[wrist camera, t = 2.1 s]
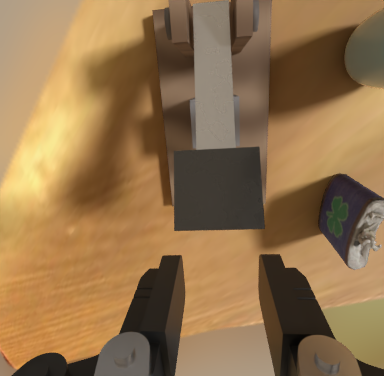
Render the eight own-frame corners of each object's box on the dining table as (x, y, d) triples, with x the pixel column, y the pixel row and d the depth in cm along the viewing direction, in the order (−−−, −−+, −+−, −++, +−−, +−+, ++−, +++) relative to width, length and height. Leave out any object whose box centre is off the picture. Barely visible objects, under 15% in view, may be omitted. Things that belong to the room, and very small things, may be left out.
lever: (176, 20, 24) (172, 2, 22) (247, 13, 24) (249, -7, 22) (178, 230, 21) (174, 230, 19) (260, 229, 21) (264, 228, 19)
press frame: (155, 13, 31) (119, -31, 19) (269, 2, 30) (304, -53, 18) (174, 202, 39) (157, 250, 28) (263, 199, 38) (285, 248, 27)
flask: (333, 233, 39) (373, 282, 29) (313, 230, 39) (346, 279, 29) (352, 173, 36) (404, 206, 26) (329, 171, 36) (373, 203, 26)
